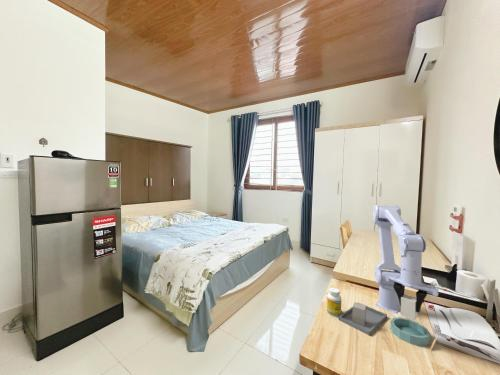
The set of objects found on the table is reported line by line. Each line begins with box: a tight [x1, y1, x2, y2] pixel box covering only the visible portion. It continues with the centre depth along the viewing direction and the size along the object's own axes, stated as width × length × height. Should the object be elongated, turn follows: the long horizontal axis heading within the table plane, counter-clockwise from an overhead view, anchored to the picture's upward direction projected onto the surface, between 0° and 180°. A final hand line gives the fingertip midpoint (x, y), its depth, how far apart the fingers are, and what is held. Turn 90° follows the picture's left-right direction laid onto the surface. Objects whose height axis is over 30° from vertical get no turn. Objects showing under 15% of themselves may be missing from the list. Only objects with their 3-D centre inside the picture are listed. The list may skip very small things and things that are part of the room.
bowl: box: [390, 317, 431, 347], centre depth 74 cm, size 11×11×3 cm
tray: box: [338, 302, 388, 336], centre depth 83 cm, size 17×11×2 cm, turn 130°
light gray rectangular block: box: [352, 301, 367, 326], centre depth 81 cm, size 4×4×6 cm
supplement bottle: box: [326, 287, 342, 318], centre depth 86 cm, size 5×5×10 cm
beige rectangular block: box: [400, 293, 419, 321], centre depth 74 cm, size 4×4×6 cm
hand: (409, 308), depth 74 cm, fingers closed on beige rectangular block, 4 cm apart
